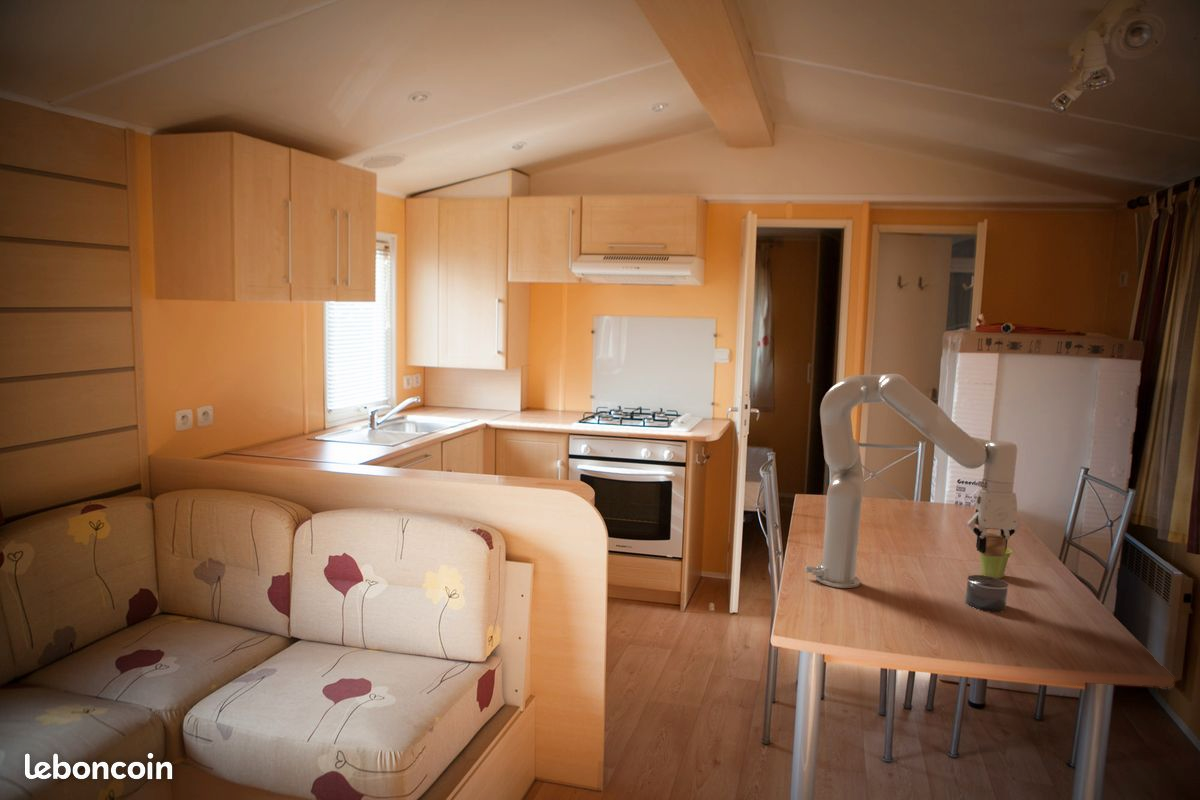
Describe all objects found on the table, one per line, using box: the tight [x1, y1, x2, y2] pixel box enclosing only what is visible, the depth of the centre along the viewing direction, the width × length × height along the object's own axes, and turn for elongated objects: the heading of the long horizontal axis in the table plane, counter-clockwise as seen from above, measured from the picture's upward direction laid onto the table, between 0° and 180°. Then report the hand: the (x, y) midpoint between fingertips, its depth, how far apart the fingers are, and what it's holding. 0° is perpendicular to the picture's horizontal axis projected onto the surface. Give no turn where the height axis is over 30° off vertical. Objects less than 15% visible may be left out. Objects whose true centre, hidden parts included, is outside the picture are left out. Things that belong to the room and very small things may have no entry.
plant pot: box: [979, 547, 1013, 579], centre depth 249 cm, size 9×9×9 cm
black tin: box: [964, 574, 1009, 613], centre depth 223 cm, size 10×10×7 cm
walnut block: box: [976, 532, 1006, 557], centre depth 221 cm, size 5×5×5 cm
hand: (990, 551), depth 221 cm, fingers closed on walnut block, 5 cm apart
